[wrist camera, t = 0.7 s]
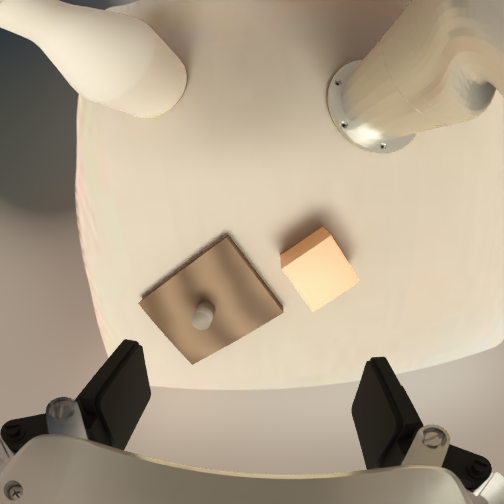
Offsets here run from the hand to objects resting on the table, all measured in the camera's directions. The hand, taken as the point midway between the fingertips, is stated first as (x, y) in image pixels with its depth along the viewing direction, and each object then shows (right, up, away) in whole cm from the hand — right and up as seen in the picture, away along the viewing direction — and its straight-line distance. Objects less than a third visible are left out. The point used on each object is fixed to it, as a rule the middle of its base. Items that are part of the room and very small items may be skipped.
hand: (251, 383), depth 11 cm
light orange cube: (+8, +4, +25) cm, 27 cm away
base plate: (-6, -2, +28) cm, 29 cm away
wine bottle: (-13, +27, +21) cm, 37 cm away
